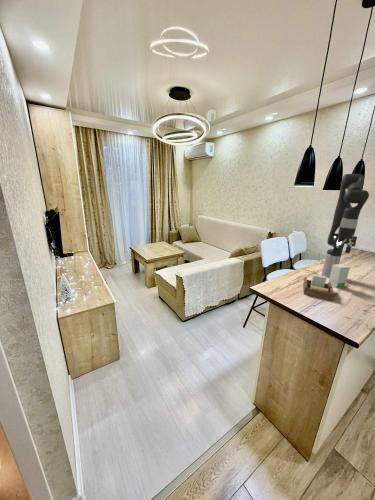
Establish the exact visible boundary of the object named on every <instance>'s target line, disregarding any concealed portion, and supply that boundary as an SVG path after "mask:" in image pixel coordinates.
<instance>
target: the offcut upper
mask: <svg viewBox="0 0 375 500" xmlns="http://www.w3.org/2000/svg"><path fill="white" fill-rule="evenodd" d="M310 289H314V290H318V291H323V292H328V289H326V288H321V287H316V286H312V285H311V287H310Z"/></svg>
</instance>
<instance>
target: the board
mask: <svg viewBox="0 0 375 500" xmlns="http://www.w3.org/2000/svg"><path fill="white" fill-rule="evenodd" d="M326 282H327V277H326V276H323V275H319V274H315V273H313V274H312V277H311V285H312V286H316V287H321V288H324V286H325V283H326ZM310 287H311V286H310Z"/></svg>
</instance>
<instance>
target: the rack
mask: <svg viewBox="0 0 375 500" xmlns="http://www.w3.org/2000/svg"><path fill="white" fill-rule="evenodd" d="M311 281H312V279H311V280H310V279H307V277H304V278H303V282H302V289H303V295H306V296H309V297H313V298H318V299H323V300H327V301H333V300H334V296H335V291H334V289H333V288H334V287H333V286H332V285H331V283H329V281H328V283H326V282H325V286H324V288H326V289H328V292H323V291H318V290H314V289H309V288H310V286H311Z"/></svg>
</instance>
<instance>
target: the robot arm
mask: <svg viewBox="0 0 375 500" xmlns="http://www.w3.org/2000/svg"><path fill="white" fill-rule="evenodd" d="M364 180H365V179H364V175H363V174H361V173H345V174H344V175H342V179H341V184H340V189H339V194H338V195H339V196H338V199H337V204H336V205H335V206H336V207H335V210H334V214H333V218H332V224H331V227H330V231H329V234H328V237H327V244H328V245H329V246H331V247H333V248H332V249H331V248H329V249H328V250H327V251H326V255H325V258H324V259H325V260H324V263H323V267H322V271H321V276H326V278H330V274H331V271H332V267H333V264H341V257H342V253H343V249H344V247H345V245H346V247H345V251H344V253H345V254H350V253H351V250H352V248H353V247H355V246H356V244H357V240H358V236H356V235H355V234H356V230H357V228H358V220H359V217H360V213H361V211H362V209H363V207H364V205H365V204H366V202H367V201H368V199H369V197H370V193H369V191H368V190H366V189H365V190H364V189H363V186H364ZM351 204H357V205H355V206H352V205H351ZM337 230H338V233H336V232H337Z"/></svg>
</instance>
